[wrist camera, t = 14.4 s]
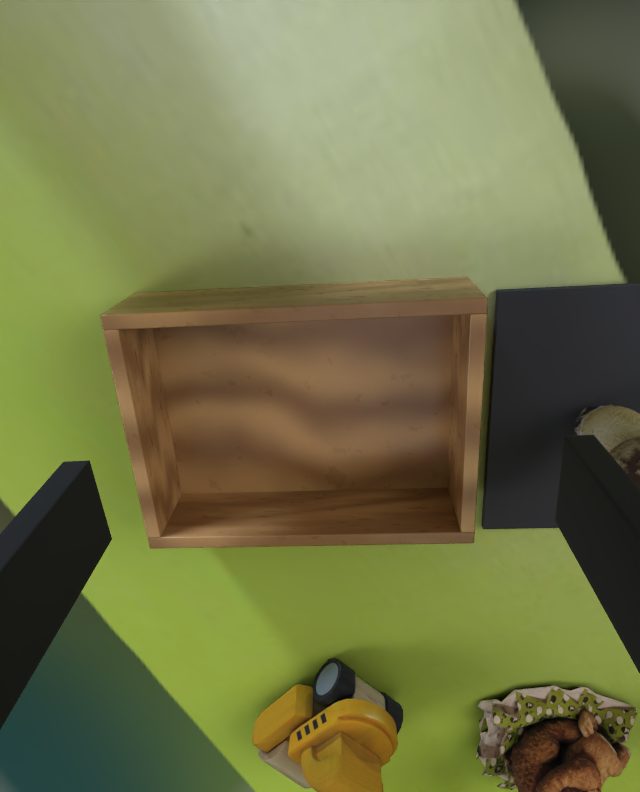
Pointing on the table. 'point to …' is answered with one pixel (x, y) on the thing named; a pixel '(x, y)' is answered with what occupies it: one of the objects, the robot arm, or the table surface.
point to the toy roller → (330, 732)
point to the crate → (303, 412)
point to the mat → (552, 388)
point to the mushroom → (614, 434)
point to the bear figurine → (555, 739)
